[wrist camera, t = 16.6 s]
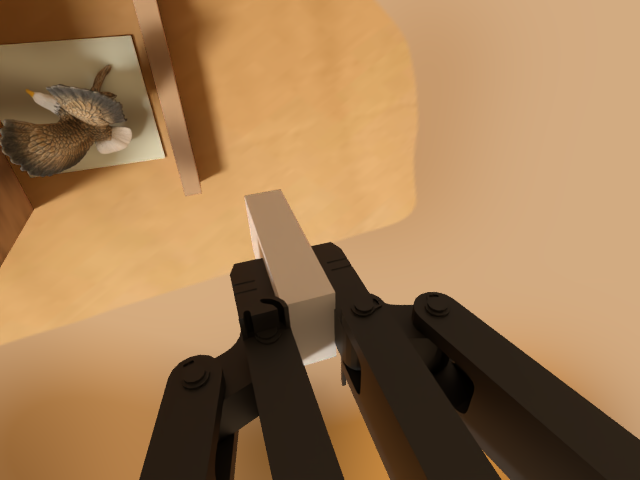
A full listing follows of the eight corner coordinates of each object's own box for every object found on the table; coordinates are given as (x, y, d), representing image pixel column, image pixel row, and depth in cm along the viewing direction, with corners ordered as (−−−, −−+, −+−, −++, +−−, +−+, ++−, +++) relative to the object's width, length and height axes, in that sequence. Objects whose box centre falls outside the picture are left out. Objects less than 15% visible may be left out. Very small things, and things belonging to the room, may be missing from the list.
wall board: (-211, -182, 20) (-456, -284, 12) (117, -167, 24) (92, -238, 16) (14, 212, 34) (-32, 283, 26) (200, 182, 38) (208, 236, 30)
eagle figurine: (49, 35, 28) (13, 54, 21) (151, 84, 32) (148, 113, 25) (24, 129, 30) (-16, 174, 23) (121, 163, 34) (111, 211, 27)
